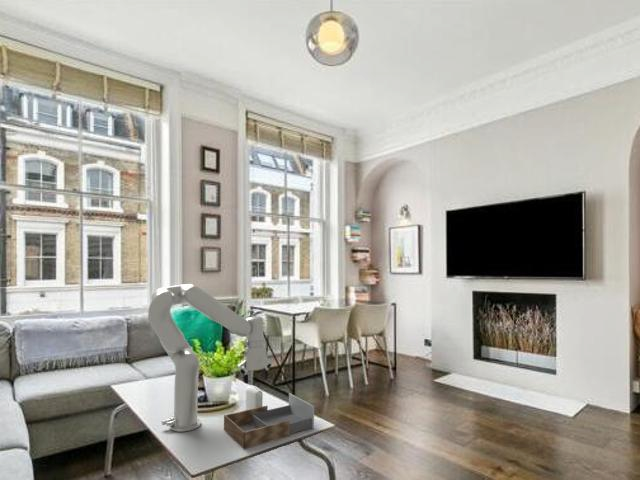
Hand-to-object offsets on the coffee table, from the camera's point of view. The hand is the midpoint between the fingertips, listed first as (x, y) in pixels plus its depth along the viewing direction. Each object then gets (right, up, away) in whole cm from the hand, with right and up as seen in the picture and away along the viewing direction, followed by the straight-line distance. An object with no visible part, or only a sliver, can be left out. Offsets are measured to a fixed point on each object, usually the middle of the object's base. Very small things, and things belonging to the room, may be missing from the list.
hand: (255, 380), depth 187 cm
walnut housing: (+4, -14, -21) cm, 26 cm away
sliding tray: (+13, -14, -15) cm, 24 cm away
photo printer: (-1, -15, -1) cm, 15 cm away
